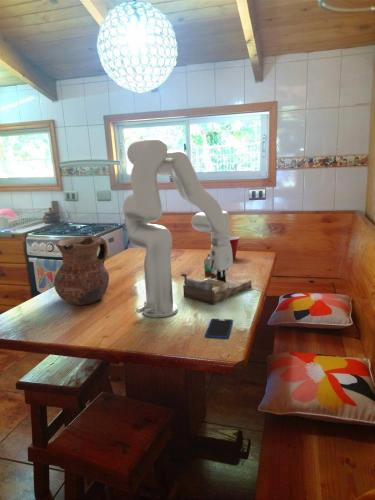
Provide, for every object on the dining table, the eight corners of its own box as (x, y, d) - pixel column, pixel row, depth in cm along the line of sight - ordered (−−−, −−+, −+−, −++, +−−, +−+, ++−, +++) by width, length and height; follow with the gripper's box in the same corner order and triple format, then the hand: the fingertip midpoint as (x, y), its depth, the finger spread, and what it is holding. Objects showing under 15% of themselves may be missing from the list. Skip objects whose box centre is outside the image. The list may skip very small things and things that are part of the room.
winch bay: (211, 305, 133) (210, 281, 131) (180, 297, 144) (179, 274, 142) (251, 287, 152) (251, 265, 150) (221, 280, 163) (221, 260, 161)
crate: (212, 298, 136) (211, 289, 136) (190, 293, 144) (190, 284, 143) (229, 290, 144) (229, 282, 143) (208, 286, 151) (208, 278, 151)
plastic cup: (229, 254, 212) (228, 234, 209) (243, 257, 204) (243, 236, 201) (216, 258, 205) (215, 237, 202) (230, 261, 197) (230, 239, 194)
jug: (89, 311, 133) (82, 245, 128) (44, 306, 140) (36, 244, 135) (120, 292, 153) (115, 234, 148) (79, 288, 160) (73, 233, 155)
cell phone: (233, 321, 120) (233, 319, 119) (228, 340, 106) (228, 338, 106) (211, 320, 121) (211, 318, 121) (204, 338, 108) (204, 336, 108)
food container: (218, 281, 162) (217, 259, 160) (204, 281, 164) (203, 259, 161) (221, 273, 174) (220, 253, 172) (208, 273, 175) (207, 253, 173)
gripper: (216, 246, 137) (217, 291, 141) (238, 239, 148) (239, 282, 152) (201, 244, 142) (203, 288, 146) (224, 237, 153) (225, 279, 157)
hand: (221, 284), depth 149 cm, fingers closed
